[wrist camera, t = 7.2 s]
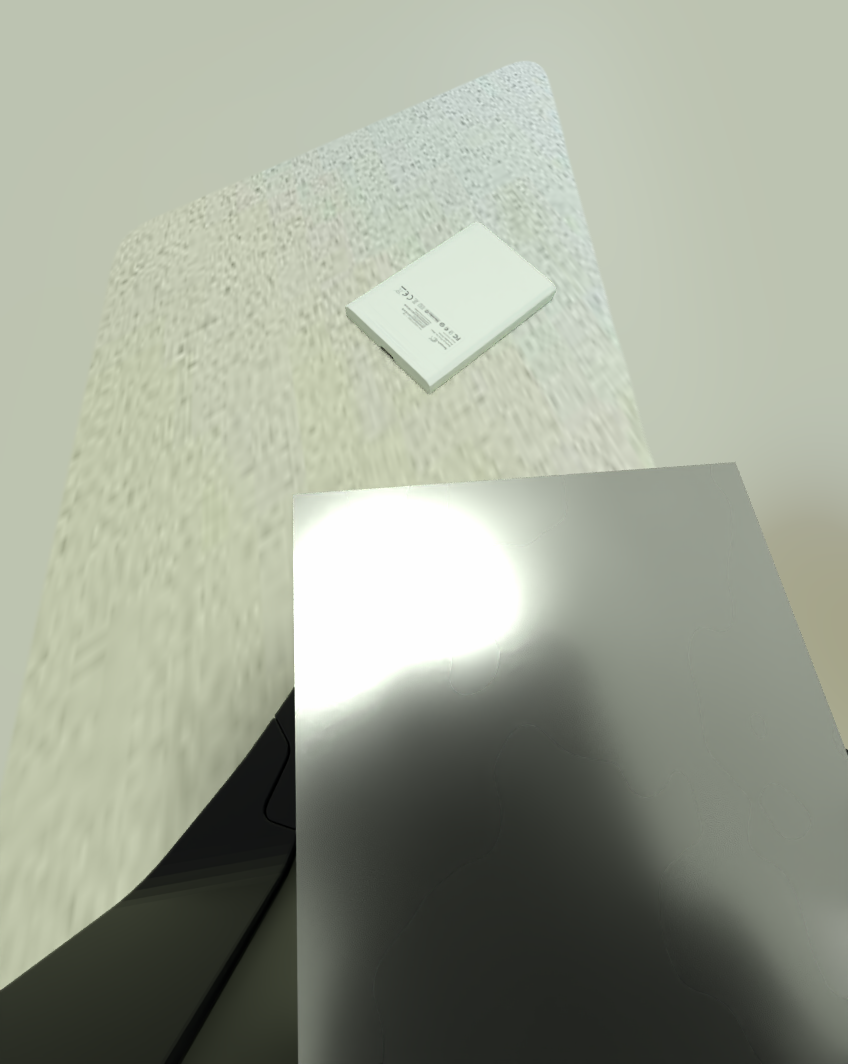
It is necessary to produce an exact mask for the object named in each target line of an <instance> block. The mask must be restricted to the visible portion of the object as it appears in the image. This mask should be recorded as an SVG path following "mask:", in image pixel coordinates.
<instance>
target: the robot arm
mask: <svg viewBox="0 0 848 1064" xmlns="http://www.w3.org/2000/svg"><path fill="white" fill-rule="evenodd" d="M846 752H847V755H848V750H847V749H846ZM0 1064H298V980H297V871H296V761H295V687H294V688H293V690H292V691H291V692H290V694H289V695H288V697H287V698H286V700H285V701H284V703H283V704H282V706H281V707H280V709H279V710H278V712H277V713H276V714H275V718H273V719H272V720H271V721H270V723H269V724H268V726H267V727H266V729H265V730H264V732H263V733H262V735H261V736H260V737H259V739H258V740H257V742H256V743H255V744H254V746H253V747H252V749H251V750H250V751H249V753H248V754H247V756H246V757H245V758H244V760H243V761H242V762H241V763H240V765H239V766H238V767H237V768H236V770H235V771H234V772H233V774H232V775H231V776H230V777H229V779H228V780H227V781H226V782H225V784H224V785H223V786H222V787H221V789H220V790H219V791H218V792H217V794H216V795H215V796H214V797H213V798H212V800H211V801H210V802H209V803H208V805H207V806H206V807H205V808H204V809H203V811H202V812H201V813H200V814H199V816H198V817H197V818H196V819H195V820H194V822H193V823H192V824H191V825H190V827H189V828H188V829H187V830H186V831H185V833H184V834H183V835H182V836H181V838H180V839H179V840H178V841H177V842H176V844H175V845H174V846H173V847H172V849H171V850H170V851H169V852H168V853H167V855H166V856H165V857H164V858H163V859H162V860H161V862H160V863H159V864H158V865H157V866H156V867H155V868H154V869H153V870H152V872H151V873H150V874H149V875H148V876H147V877H146V878H145V879H144V880H143V881H142V882H141V883H140V884H139V885H138V886H137V887H136V888H135V889H134V890H133V891H131V892H130V893H129V894H128V895H127V896H126V897H125V898H123V899H122V900H121V901H120V902H119V903H118V904H116V905H115V906H114V907H112V908H111V909H110V910H108V911H107V912H106V913H104V914H103V915H102V916H100V917H99V918H98V919H96V920H95V921H94V922H92V923H91V924H90V925H88V926H87V927H86V928H84V929H83V930H81V931H80V932H79V933H77V934H76V935H75V936H73V937H72V938H71V939H69V940H68V941H67V942H65V943H64V944H63V945H61V946H60V947H58V948H57V949H56V950H54V951H53V952H52V953H50V954H49V955H48V956H46V957H45V958H44V959H42V960H41V961H40V962H38V963H37V964H36V965H34V966H33V967H31V968H30V969H29V970H27V971H26V972H25V973H23V974H22V975H21V976H19V977H18V978H17V979H15V980H14V981H13V982H11V983H10V984H9V985H7V986H6V987H4V988H3V989H2V990H0Z"/></svg>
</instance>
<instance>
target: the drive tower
mask: <svg viewBox="0 0 848 1064" xmlns="http://www.w3.org/2000/svg"><path fill="white" fill-rule="evenodd" d="M293 543H294V652H295V761H296V871H297V980H298V1064H848V755H847V752H846V749H845V747H844V744H843V742H842V739H841V736H840V734H839V731H838V729H837V726H836V724H835V721H834V718H833V716H832V713H831V710H830V708H829V705H828V703H827V700H826V697H825V695H824V692H823V689H822V687H821V684H820V682H819V679H818V676H817V674H816V671H815V669H814V666H813V663H812V661H811V658H810V656H809V653H808V650H807V648H806V645H805V643H804V640H803V637H802V635H801V632H800V630H799V627H798V624H797V622H796V619H795V617H794V614H793V611H792V609H791V606H790V604H789V601H788V598H787V596H786V593H785V591H784V588H783V586H782V583H781V580H780V577H779V575H778V572H777V570H776V567H775V564H774V562H773V559H772V557H771V554H770V552H769V549H768V546H767V544H766V541H765V539H764V536H763V533H762V531H761V528H760V525H759V523H758V520H757V518H756V515H755V512H754V510H753V507H752V505H751V502H750V499H749V497H748V494H747V492H746V489H745V486H744V484H743V481H742V479H741V476H740V473H739V471H738V468H737V466H736V463H735V462H734V463H719V464H706V465H692V466H677V467H663V468H650V469H636V470H622V471H608V472H595V473H581V474H567V475H553V476H539V477H526V478H512V479H498V480H484V481H470V482H457V483H443V484H429V485H415V486H401V487H388V488H374V489H360V490H346V491H333V492H319V493H305V494H293Z"/></svg>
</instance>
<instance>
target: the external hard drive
mask: <svg viewBox="0 0 848 1064" xmlns="http://www.w3.org/2000/svg"><path fill="white" fill-rule="evenodd" d="M555 292H556V287H555V285H554V283H553V282H552V281H551V280H550V279H548V278H547V277H546V276H545V275H543V274H542V273H541V272H540V271H539V270H537V269H536V268H535V267H534V266H533V265H531V264H530V263H529V262H528V261H526V260H525V259H524V258H523V257H522V256H520V255H519V254H518V253H517V252H516V251H514V250H513V249H512V248H511V247H510V246H509V245H507V244H506V243H505V242H504V241H502V240H501V239H500V238H499V237H498V236H496V235H495V234H494V233H493V232H491V231H490V230H489V229H488V228H486V227H485V226H484V225H483V224H481V223H480V222H477V221H476V222H474V223H472V224H471V225H469V226H468V227H466V228H464V229H463V230H461V231H460V232H458V233H457V234H455V235H454V236H452V237H451V238H449V239H448V240H446V241H445V242H443V243H441V244H440V245H438V246H437V247H435V248H434V249H432V250H431V251H429V252H428V253H426V254H425V255H423V256H422V257H420V258H419V259H417V260H415V261H414V262H412V263H411V264H409V265H408V266H406V267H405V268H403V269H402V270H400V271H399V272H397V273H395V274H394V275H392V276H391V277H389V278H388V279H386V280H385V281H383V282H382V283H380V284H379V285H377V286H376V287H374V288H373V289H371V290H370V291H368V292H367V293H365V294H364V295H362V296H361V297H359V298H357V299H356V300H354V301H353V302H351V303H349V304H348V305H346V306H345V309H346V315H347V317H348V318H349V319H350V320H352V321H353V322H354V323H355V324H356V325H357V326H358V327H359V328H360V329H361V330H362V331H363V332H364V333H365V334H366V335H367V336H368V337H369V338H370V339H371V340H373V341H374V342H375V343H376V344H377V345H378V346H379V347H383V348H384V349H385V350H386V351H387V352H388V353H389V354H390V355H391V356H392V357H393V358H394V361H395V362H396V363H397V364H398V365H399V366H400V367H401V368H402V369H403V370H404V371H405V372H406V373H407V374H408V375H409V376H410V377H411V378H412V379H413V380H414V381H415V382H416V383H417V384H418V385H420V386H421V387H422V388H423V389H424V390H425V391H426V392H427V393H428V394H431V393H432V392H433V391H435V390H436V389H437V388H438V387H440V386H441V385H442V384H444V383H445V382H446V381H448V380H449V379H450V378H451V377H453V376H454V375H455V374H457V373H458V372H459V371H461V370H462V369H463V368H464V367H466V366H467V365H468V364H470V363H471V362H472V361H473V360H475V359H476V358H477V357H479V356H480V355H481V354H483V353H484V352H485V351H486V350H488V349H489V348H490V347H492V346H493V345H494V344H495V343H497V342H498V341H499V340H501V339H502V338H503V337H504V336H506V335H507V334H508V333H510V332H511V331H512V330H513V329H515V328H516V327H517V326H519V325H520V324H521V323H523V322H524V321H525V320H526V319H528V318H529V317H530V316H531V315H533V314H534V313H535V312H537V311H538V310H539V309H541V308H542V307H543V306H544V305H546V304H547V303H548V302H549V301H551V300H552V298H553V296H554V294H555Z"/></svg>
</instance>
